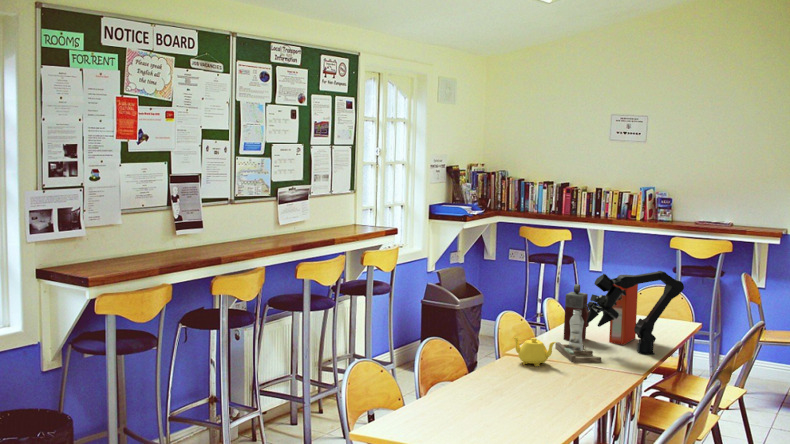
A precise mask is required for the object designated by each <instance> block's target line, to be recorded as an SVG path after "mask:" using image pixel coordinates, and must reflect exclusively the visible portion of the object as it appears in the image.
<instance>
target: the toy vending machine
mask: <svg viewBox="0 0 790 444" xmlns="http://www.w3.org/2000/svg"><path fill="white" fill-rule="evenodd" d="M564 299H565V301H564V302H565V303H564V305H565V306H564V318H563V319H564V321H563V322H564V323H563V340H564V341H570V333H571V332H570V319H571V317H572V316H573V315H574V314H573V310H581V313H582V314H581V317H582V318H583V320H584V325H583V331H582V342H583V341H584V340H586V334H587V328H588V327H590V326H589V324H590V322H589V323H587V318H588V315H589V308H588V306H587V304H588V300H589V299H588V293H587V292H581V285H580V284H576V283H575V284H574V285H573V291H569V292H568V293H566V294H565V298H564Z"/></svg>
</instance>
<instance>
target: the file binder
mask: <svg viewBox="0 0 790 444" xmlns="http://www.w3.org/2000/svg"><path fill="white" fill-rule="evenodd" d="M613 285H614V286H616V287H619V288H621V289H622V290H626V296H623V295H621V296H620V297H619V299H618V300H617V301H616V303H617V305H614V306H613V307H612V308H613V309H615V310H616V311H617V312H618V313H619V316H618V318H617V319H615V318H614V320H611V321H609V340H608V343H611V344H616V345H617V344H618V345H623V346H624V345H626V344H627V343H630V342H631V341H633V340H635V339H636V335H637V334H636V333H635V330H634V328H635V324H636V323H637V317H638V316H637V314H638V313H637V312H638V311H637V310H638V293H639V292H638V291H639V284H637V285H635V286H633V287H630V288H627V289H625V288H622V287H620V286H617V285H615V284H613Z"/></svg>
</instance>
